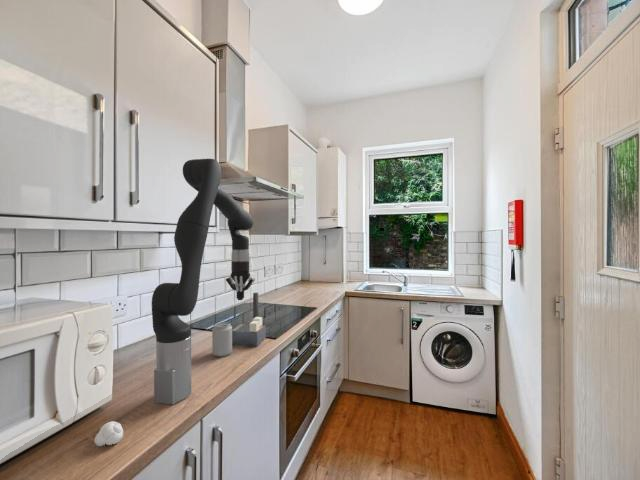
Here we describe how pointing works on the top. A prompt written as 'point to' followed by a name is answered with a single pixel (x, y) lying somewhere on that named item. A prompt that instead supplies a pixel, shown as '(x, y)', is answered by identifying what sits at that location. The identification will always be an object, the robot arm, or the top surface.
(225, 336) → the can
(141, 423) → the top surface
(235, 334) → the grey storage bin
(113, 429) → the microfossil shell
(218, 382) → the top surface
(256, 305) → the post
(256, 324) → the toggle near
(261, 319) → the toggle far
